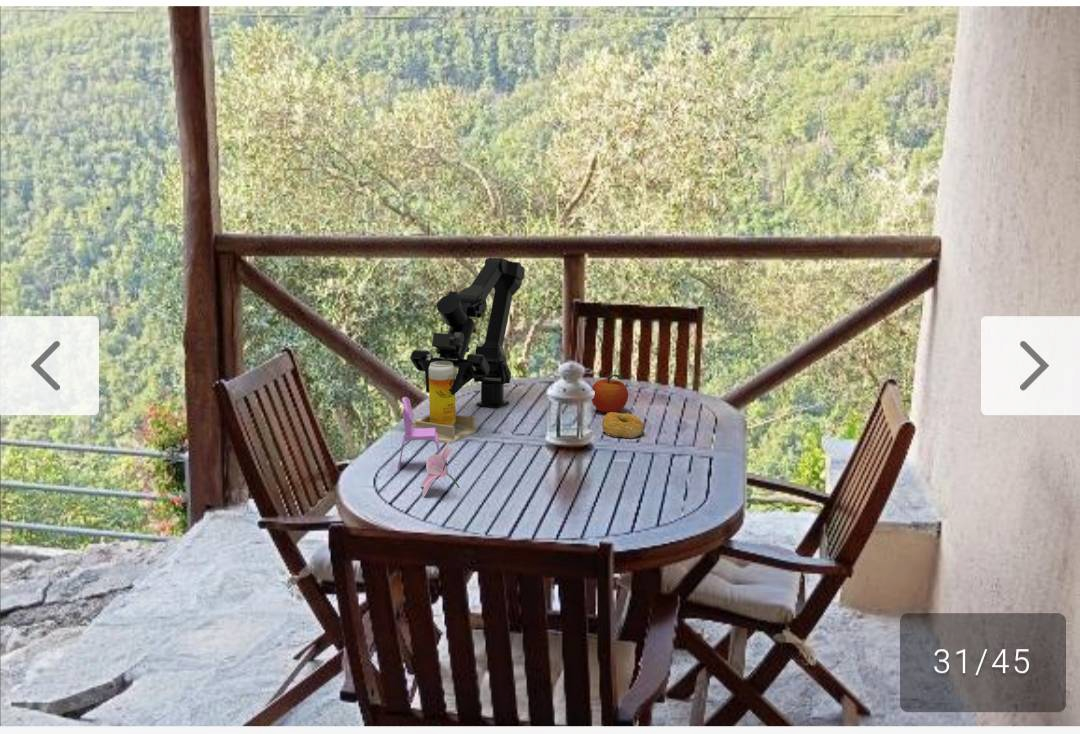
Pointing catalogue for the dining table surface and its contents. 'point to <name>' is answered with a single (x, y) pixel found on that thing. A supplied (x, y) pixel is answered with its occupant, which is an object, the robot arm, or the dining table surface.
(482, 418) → the dining table surface
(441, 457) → the lily
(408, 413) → the toy chair
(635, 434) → the bagel
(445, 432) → the gold tray
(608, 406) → the fruit
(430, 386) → the beer can
